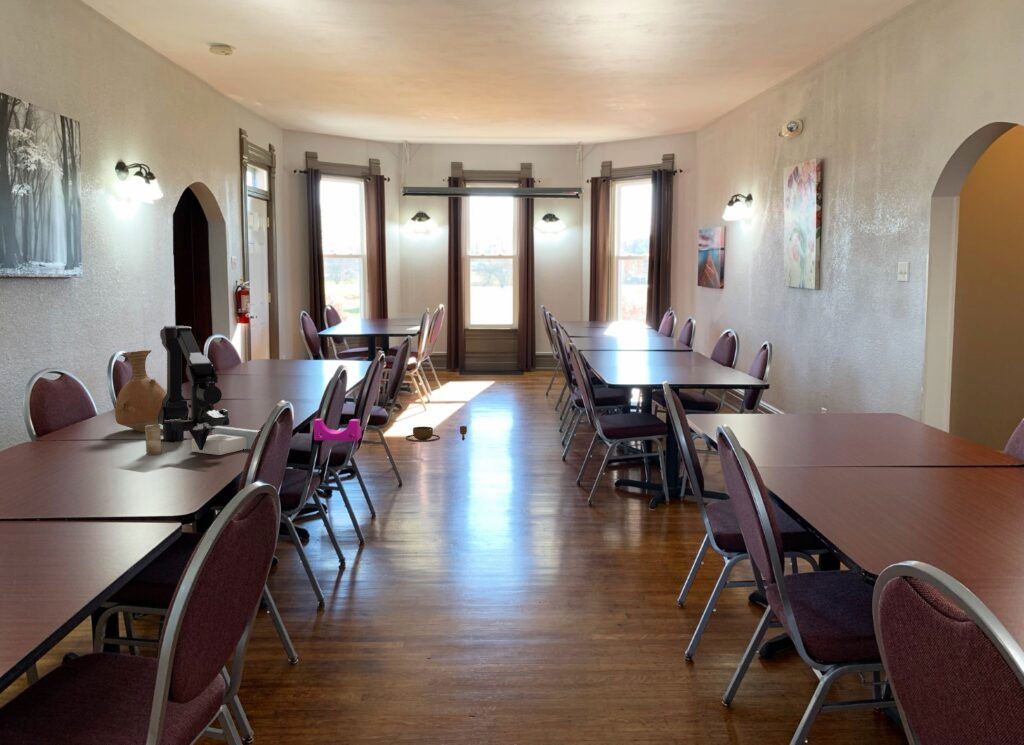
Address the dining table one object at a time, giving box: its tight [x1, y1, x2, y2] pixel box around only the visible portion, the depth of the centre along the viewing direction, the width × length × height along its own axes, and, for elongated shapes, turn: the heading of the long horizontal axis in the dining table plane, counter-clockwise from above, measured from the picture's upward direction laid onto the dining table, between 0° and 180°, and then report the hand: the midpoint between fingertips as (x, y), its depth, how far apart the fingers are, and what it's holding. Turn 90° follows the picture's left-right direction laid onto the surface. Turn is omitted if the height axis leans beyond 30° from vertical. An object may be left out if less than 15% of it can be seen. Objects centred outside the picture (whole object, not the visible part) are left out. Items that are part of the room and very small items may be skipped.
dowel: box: [144, 424, 162, 456], centre depth 276 cm, size 4×4×9 cm
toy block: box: [313, 418, 363, 442], centre depth 302 cm, size 15×6×8 cm, turn 87°
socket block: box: [191, 434, 248, 456], centre depth 282 cm, size 12×12×4 cm
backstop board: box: [211, 425, 260, 450], centre depth 289 cm, size 20×2×6 cm, turn 62°
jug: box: [114, 349, 167, 433], centre depth 312 cm, size 20×19×30 cm
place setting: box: [405, 425, 468, 445], centre depth 301 cm, size 18×20×6 cm
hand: (201, 449), depth 276 cm, fingers closed
